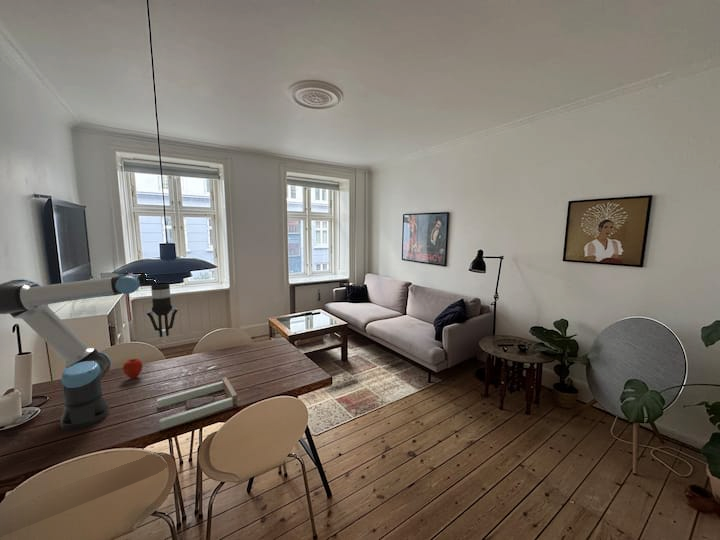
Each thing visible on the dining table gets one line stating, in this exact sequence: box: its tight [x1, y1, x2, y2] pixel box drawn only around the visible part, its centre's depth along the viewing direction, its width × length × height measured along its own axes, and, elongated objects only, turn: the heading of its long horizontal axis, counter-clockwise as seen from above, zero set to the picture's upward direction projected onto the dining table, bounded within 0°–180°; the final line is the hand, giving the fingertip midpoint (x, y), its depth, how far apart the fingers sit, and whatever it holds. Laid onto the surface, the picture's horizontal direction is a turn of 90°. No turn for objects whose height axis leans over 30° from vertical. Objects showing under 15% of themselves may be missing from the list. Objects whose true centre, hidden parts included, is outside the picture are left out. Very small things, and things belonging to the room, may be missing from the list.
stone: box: [184, 395, 215, 411], centre depth 132 cm, size 12×9×5 cm
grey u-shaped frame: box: [156, 376, 238, 430], centre depth 135 cm, size 30×20×5 cm, turn 128°
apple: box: [122, 358, 143, 379], centre depth 157 cm, size 9×8×11 cm
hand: (164, 342), depth 146 cm, fingers closed
